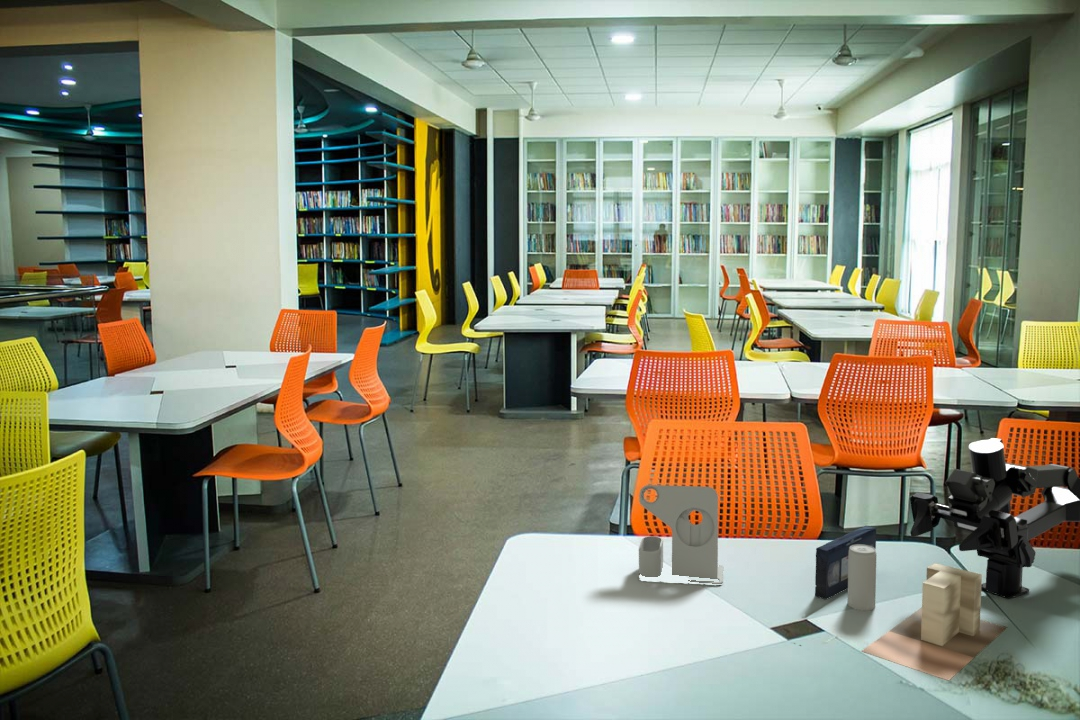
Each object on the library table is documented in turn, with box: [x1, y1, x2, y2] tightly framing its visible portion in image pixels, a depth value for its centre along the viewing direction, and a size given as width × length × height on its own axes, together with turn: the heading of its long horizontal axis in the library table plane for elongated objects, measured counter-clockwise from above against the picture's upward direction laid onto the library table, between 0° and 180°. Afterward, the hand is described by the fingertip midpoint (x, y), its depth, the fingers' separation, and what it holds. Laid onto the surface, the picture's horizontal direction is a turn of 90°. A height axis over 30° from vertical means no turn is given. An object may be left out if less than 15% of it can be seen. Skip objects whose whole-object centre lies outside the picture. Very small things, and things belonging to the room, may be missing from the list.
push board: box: [861, 606, 1008, 681], centre depth 147 cm, size 25×14×1 cm, turn 134°
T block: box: [921, 562, 983, 646], centre depth 148 cm, size 10×8×10 cm
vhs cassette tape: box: [814, 525, 877, 600], centre depth 173 cm, size 18×3×10 cm, turn 129°
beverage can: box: [847, 544, 877, 611], centre depth 161 cm, size 5×5×12 cm
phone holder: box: [638, 484, 725, 584], centre depth 180 cm, size 17×10×18 cm, turn 77°
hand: (935, 541), depth 154 cm, fingers open, 9 cm apart
